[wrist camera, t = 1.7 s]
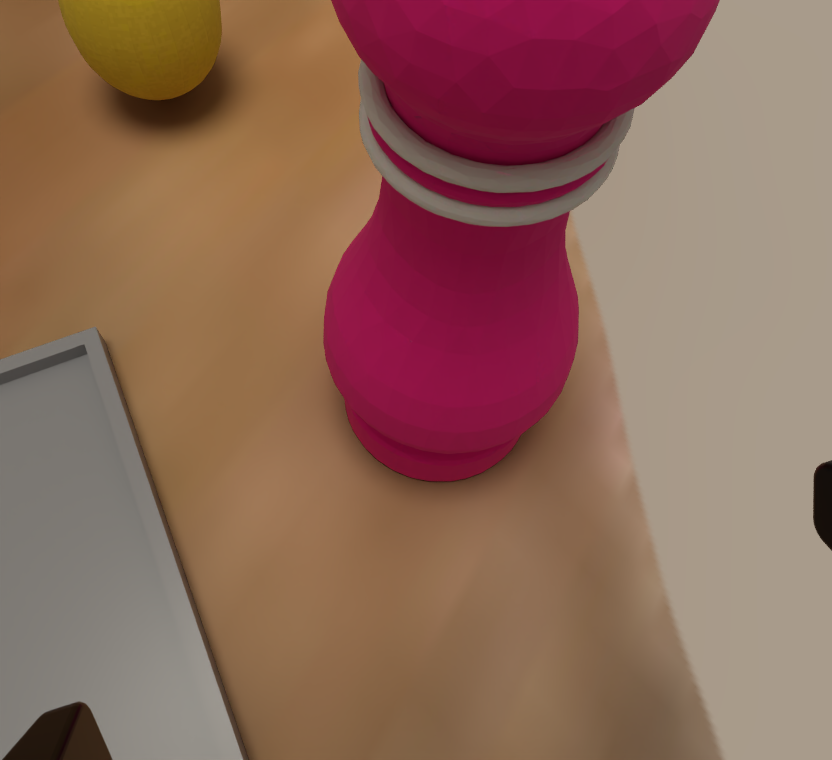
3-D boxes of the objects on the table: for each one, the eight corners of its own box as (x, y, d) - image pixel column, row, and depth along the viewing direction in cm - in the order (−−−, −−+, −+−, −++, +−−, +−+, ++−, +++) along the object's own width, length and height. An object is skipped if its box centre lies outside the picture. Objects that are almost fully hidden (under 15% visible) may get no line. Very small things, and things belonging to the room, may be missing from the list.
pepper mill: (447, 272, 28) (593, -604, 10) (585, 412, 25) (1101, -395, 8) (287, 379, 25) (93, -519, 7) (423, 544, 23) (615, -176, 5)
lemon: (244, 133, 30) (205, -60, 23) (102, 151, 29) (16, -43, 22) (228, 40, 32) (188, -161, 25) (96, 54, 32) (17, -150, 24)
